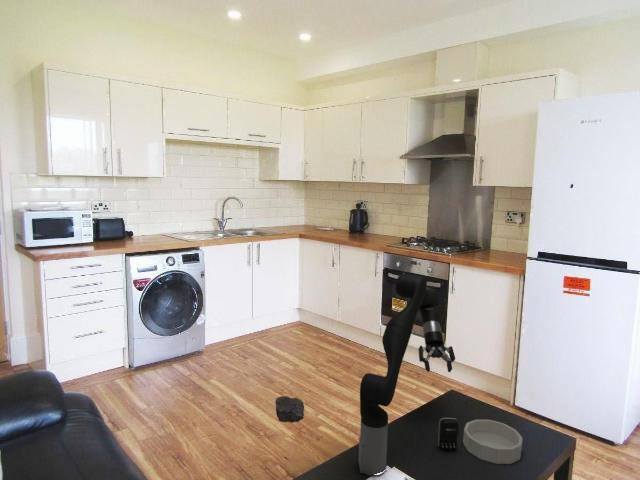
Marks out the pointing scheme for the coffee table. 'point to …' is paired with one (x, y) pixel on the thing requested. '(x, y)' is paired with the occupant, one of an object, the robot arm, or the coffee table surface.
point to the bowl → (492, 441)
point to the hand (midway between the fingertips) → (439, 371)
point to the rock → (289, 409)
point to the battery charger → (448, 433)
